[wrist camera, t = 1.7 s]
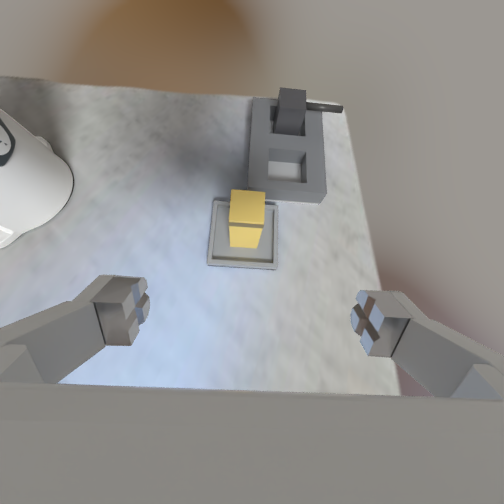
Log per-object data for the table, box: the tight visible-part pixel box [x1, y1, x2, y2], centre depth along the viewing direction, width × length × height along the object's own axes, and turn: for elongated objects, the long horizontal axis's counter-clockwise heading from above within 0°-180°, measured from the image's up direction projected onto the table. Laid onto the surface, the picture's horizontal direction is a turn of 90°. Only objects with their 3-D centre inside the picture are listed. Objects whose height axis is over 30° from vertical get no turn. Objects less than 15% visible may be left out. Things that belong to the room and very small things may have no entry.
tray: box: [207, 201, 278, 270], centre depth 35 cm, size 10×10×1 cm
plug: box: [228, 189, 265, 248], centre depth 31 cm, size 4×4×9 cm
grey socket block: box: [247, 88, 343, 205], centre depth 38 cm, size 14×18×8 cm
